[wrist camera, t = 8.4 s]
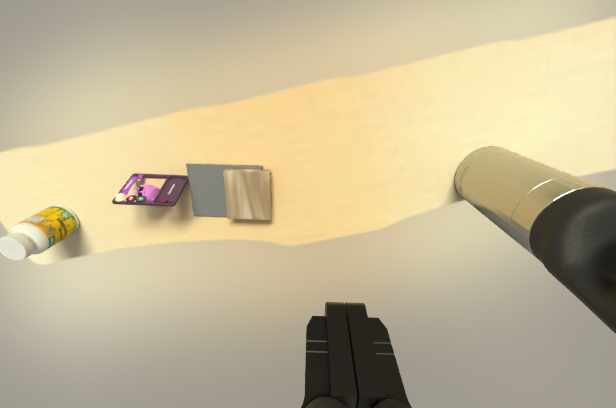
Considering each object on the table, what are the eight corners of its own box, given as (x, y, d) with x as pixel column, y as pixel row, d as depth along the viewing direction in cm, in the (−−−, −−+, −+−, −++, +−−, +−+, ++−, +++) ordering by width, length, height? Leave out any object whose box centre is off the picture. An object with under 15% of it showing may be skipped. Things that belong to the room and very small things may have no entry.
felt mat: (262, 165, 45) (262, 166, 45) (264, 216, 49) (264, 217, 48) (186, 163, 45) (186, 164, 45) (194, 214, 49) (194, 215, 49)
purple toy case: (172, 200, 41) (108, 198, 41) (182, 225, 44) (124, 223, 44) (187, 172, 46) (131, 169, 45) (195, 196, 49) (143, 194, 49)
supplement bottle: (44, 203, 48) (-16, 231, 40) (75, 205, 49) (23, 234, 40) (53, 230, 51) (-2, 263, 42) (83, 233, 51) (35, 265, 42)
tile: (269, 173, 43) (223, 171, 43) (270, 219, 47) (227, 218, 47) (270, 169, 45) (226, 168, 45) (272, 215, 48) (230, 213, 48)
